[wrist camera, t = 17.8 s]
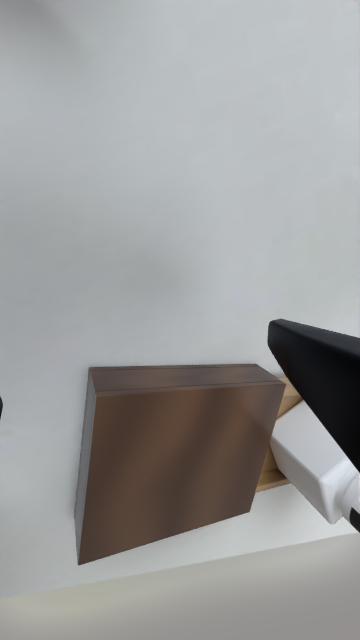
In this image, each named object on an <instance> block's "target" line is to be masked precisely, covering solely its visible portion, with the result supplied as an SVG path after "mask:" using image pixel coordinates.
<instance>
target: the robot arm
mask: <svg viewBox="0 0 360 640" xmlns="http://www.w3.org/2000/svg"><path fill="white" fill-rule="evenodd" d="M268 346H269V349H270V350H271V352H272V354H273V355H274V357H275V359H276V360H277V362H278V364H279V365H280V367H281V369H282V370H283V372H284V373H285V375H286V377H287V378H288V380H289V381H290V383H291V384H292V385H293V387H294V388H295V389H296V391H297V392H298V393H299V395H300V396H301V397H302V399H303V400H304V401H305V403H306V404H307V405H308V406H309V408H310V409H311V410H312V412H313V413H314V414H315V416H316V417H317V418H318V419H319V421H320V422H321V423H322V425H323V426H324V427H325V429H326V430H327V431H328V433H329V434H330V435H331V436H332V438H333V439H334V440H335V442H336V443H337V444H338V446H339V447H340V448H341V450H342V451H343V452H344V453H345V455H346V456H347V457H348V459H349V460H350V461H351V463H352V464H353V465H354V467H355V468H356V469H357V470H358V472H359V473H360V338H357V337H353V336H349V335H345V334H341V333H337V332H333V331H329V330H325V329H321V328H317V327H313V326H309V325H304V324H300V323H296V322H292V321H288V320H284V319H277V320H273V321H271V322H270V323H269V326H268ZM2 408H3V403H2V399H1V397H0V418H1V413H2Z"/></svg>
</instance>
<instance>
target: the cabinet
mask: <svg viewBox="0 0 360 640" xmlns="http://www.w3.org/2000/svg"><path fill="white" fill-rule="evenodd" d="M285 388H286V383H284V382H283V381H281V380H280V379H278V378H277V377H275V376H274V375H272V374H271V373H269V372H268V371H266V370H265V369H263V368H262V367H260V366H259V365H257V364H228V365H179V366H130V367H89V373H88V383H87V393H86V403H85V413H84V423H83V433H82V443H81V453H80V463H79V473H78V483H77V493H76V503H75V513H74V518H75V532H76V546H77V559H78V565H82V564H85V563H88V562H91V561H94V560H98V559H101V558H104V557H107V556H110V555H114V554H117V553H120V552H123V551H126V550H130V549H133V548H136V547H139V546H142V545H146V544H149V543H152V542H155V541H158V540H161V539H165V538H168V537H171V536H174V535H177V534H181V533H184V532H187V531H190V530H193V529H197V528H200V527H203V526H206V525H209V524H212V523H216V522H219V521H222V520H225V519H228V518H232V517H235V516H238V515H241V514H244V513H248V512H250V509H251V505H252V502H253V498H254V495H255V492H256V488H257V485H258V481H259V478H260V474H261V471H262V467H263V464H264V460H265V457H266V454H267V450H268V447H269V443H270V440H271V436H272V433H273V429H274V426H275V422H276V419H277V415H278V412H279V409H280V405H281V402H282V398H283V395H284V391H285Z"/></svg>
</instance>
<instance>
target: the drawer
mask: <svg viewBox="0 0 360 640" xmlns="http://www.w3.org/2000/svg"><path fill="white" fill-rule="evenodd" d="M278 379H280V380H281V381H283V382H284V383H286V388H285V391H284V395H283V398H282V402H281V405H280V409H279V412H278V415H277V419H278V418H280V417H281V416H282V415H284V414H285V413H286V412H288V411H289V410H290V409H291V408H293V407H294V406H295V405H297V404H298V403H299V402H301V401H302V400H303V399H302V397H301V396H300V395H299V393H298V392H297V391H296V389H295V388H294V387H293V385H292V384H291V383H290V381H289V380H288V378H287V377H279V378H278ZM277 419H276V420H277ZM289 483H291V482H290V481H289V480H288V479H287V478H286V477H285V475H284V474H283V473H282V472H281V471H280V470H279V469H278V467H277V464H276V461H275V458H274V455H273V452H272V450H271V447H270V444H269V447H268V450H267V454H266V457H265V460H264V464H263V467H262V471H261V474H260V478H259V481H258V485H257V488H256V492H255V493H257V492H260V491H264V490H268V489H271V488H275V487H278V486H282V485H285V484H289Z"/></svg>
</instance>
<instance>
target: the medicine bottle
mask: <svg viewBox="0 0 360 640" xmlns="http://www.w3.org/2000/svg"><path fill="white" fill-rule="evenodd" d="M269 444H270V447H271V450H272V452H273V455H274V458H275V461H276V464H277V467H278V469H279V470H280V471H281V472H282V473H283V474H284V475H285V477H286V478H287V479H288V480H289V481H290V482H291V483H292V484H293V485H294V486H295V487H296V488H297V489H298V490H299V491H300V492H301V494H302V495H303V496H304V497H305V498H306V499H307V500H308V501H309V502H310V503H311V504H312V505H313V506H314V507H315V508H316V509H317V511H318V512H319V513H320V514H321V515H322V516H323V517H324V518H325V519H326V520H327V521H328V522H329V523H330V524H335V523H336V522H337V521H338V520H339V519H340V518H341V517H342V516H343V517H344V518H345V519H346V520H347V521H348V522H349V523H350V524H351V525H352V526H353V527H354V528H355V529H356V530H357V531H358V532H359V533H360V473H359V472H358V470H357V469H356V468H355V467H354V465H353V464H352V463H351V461H350V460H349V459H348V457H347V456H346V455H345V453H344V452H343V451H342V450H341V448H340V447H339V446H338V444H337V443H336V442H335V440H334V439H333V438H332V436H331V435H330V434H329V433H328V431H327V430H326V429H325V427H324V426H323V425H322V423H321V422H320V421H319V419H318V418H317V417H316V416H315V414H314V413H313V412H312V410H311V409H310V408H309V406H308V405H307V404H306V403H305V401H304V400H302V401H301V402H299V403H298V404H297V405H295V406H294V407H293V408H291V409H290V410H289V411H288V412H286V413H285V414H284V415H282V416H281V417H280V418H278V419H277V420H276V422H275V426H274V429H273V433H272V436H271V440H270V443H269Z"/></svg>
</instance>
